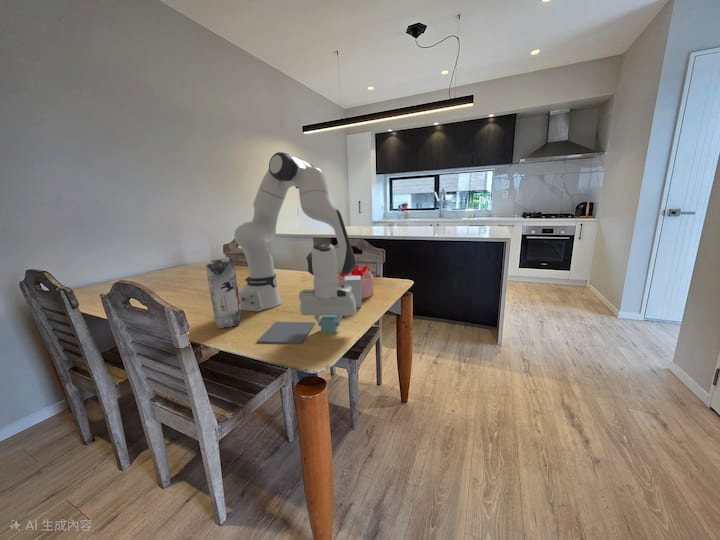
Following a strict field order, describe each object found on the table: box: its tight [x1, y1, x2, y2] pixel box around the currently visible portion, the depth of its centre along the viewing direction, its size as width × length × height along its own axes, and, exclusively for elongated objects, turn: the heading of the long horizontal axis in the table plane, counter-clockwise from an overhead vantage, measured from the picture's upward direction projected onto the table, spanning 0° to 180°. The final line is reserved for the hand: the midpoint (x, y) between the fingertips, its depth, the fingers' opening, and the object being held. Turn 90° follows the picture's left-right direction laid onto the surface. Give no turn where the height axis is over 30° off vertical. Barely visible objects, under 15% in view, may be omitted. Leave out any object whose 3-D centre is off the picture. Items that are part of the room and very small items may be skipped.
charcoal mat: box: [256, 321, 316, 345], centre depth 104 cm, size 16×16×1 cm
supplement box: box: [344, 276, 363, 308], centre depth 128 cm, size 7×7×13 cm
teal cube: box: [320, 315, 339, 334], centre depth 105 cm, size 5×5×5 cm
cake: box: [337, 263, 375, 300], centre depth 143 cm, size 20×20×14 cm
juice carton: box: [205, 256, 242, 329], centre depth 112 cm, size 9×10×27 cm
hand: (329, 325), depth 105 cm, fingers closed on teal cube, 5 cm apart
